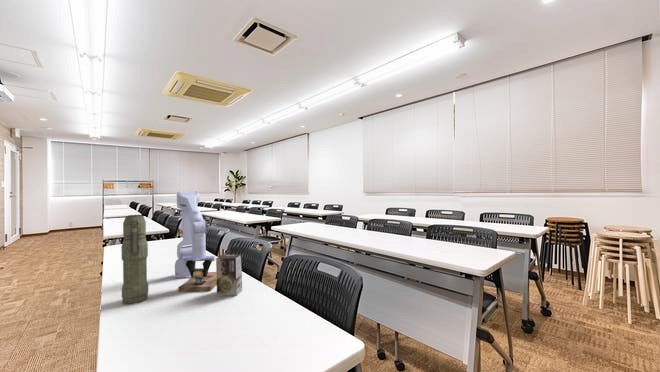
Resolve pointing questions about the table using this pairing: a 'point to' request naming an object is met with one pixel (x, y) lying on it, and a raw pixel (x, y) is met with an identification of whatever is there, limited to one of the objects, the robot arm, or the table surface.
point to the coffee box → (229, 274)
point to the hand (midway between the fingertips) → (199, 276)
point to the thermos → (134, 260)
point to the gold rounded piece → (198, 276)
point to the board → (208, 285)
